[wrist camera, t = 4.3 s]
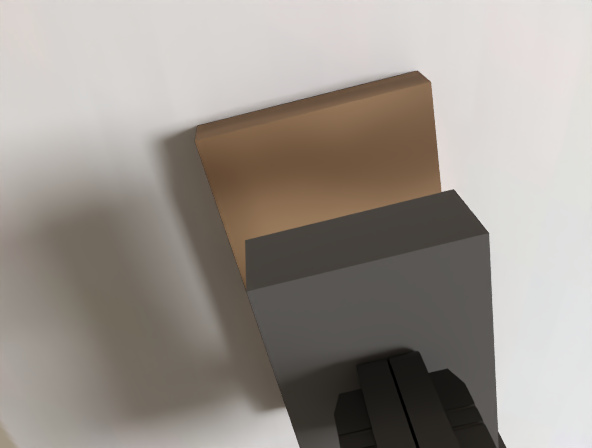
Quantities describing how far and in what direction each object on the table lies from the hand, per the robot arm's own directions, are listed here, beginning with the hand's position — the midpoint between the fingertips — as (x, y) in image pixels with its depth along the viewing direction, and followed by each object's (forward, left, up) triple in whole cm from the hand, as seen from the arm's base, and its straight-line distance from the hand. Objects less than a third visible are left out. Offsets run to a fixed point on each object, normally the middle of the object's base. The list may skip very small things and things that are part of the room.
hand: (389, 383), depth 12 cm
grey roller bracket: (+3, 0, -2) cm, 4 cm away
